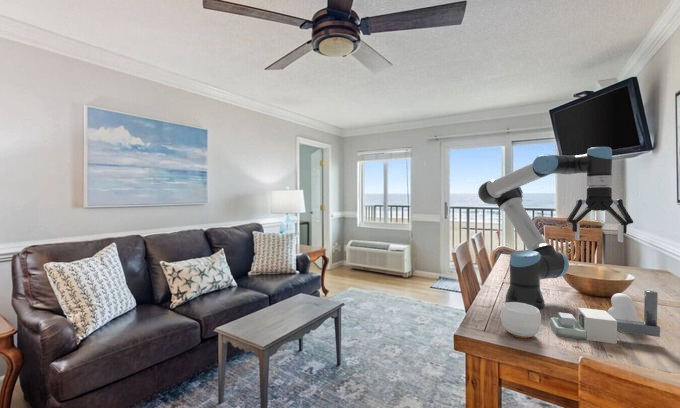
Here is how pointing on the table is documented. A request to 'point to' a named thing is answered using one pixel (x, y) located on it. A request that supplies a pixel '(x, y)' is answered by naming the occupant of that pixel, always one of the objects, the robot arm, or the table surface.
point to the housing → (598, 325)
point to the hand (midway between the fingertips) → (598, 241)
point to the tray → (567, 330)
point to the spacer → (566, 320)
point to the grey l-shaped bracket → (637, 327)
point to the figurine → (622, 307)
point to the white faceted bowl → (521, 319)
